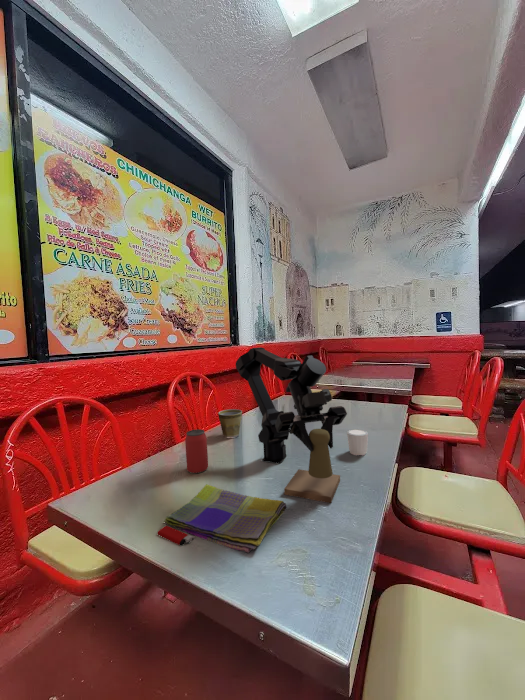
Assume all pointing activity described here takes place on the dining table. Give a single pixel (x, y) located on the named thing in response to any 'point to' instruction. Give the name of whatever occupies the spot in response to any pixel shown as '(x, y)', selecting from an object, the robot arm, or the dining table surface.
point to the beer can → (196, 451)
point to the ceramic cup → (230, 422)
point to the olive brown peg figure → (320, 454)
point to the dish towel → (227, 518)
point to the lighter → (175, 535)
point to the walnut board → (312, 486)
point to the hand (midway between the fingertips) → (322, 449)
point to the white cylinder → (357, 441)
